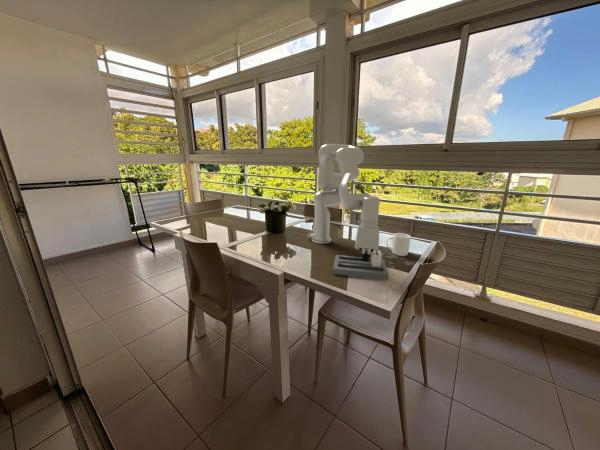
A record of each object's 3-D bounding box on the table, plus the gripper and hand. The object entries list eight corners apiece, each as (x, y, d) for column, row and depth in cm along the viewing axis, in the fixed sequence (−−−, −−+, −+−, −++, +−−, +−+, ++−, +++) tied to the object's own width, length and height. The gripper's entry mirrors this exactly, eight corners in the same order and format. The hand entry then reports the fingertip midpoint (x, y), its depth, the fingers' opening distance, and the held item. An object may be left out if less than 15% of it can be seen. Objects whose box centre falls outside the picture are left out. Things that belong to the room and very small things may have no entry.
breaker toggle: (371, 266, 111) (372, 254, 109) (370, 261, 116) (371, 249, 115) (380, 267, 110) (382, 255, 108) (379, 262, 116) (380, 250, 114)
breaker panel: (332, 274, 110) (333, 266, 109) (335, 259, 125) (335, 252, 124) (387, 280, 106) (388, 271, 104) (383, 264, 121) (384, 257, 119)
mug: (386, 248, 142) (388, 231, 139) (408, 252, 137) (410, 234, 134) (384, 253, 134) (386, 235, 131) (407, 257, 129) (410, 238, 126)
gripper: (351, 224, 107) (348, 262, 112) (387, 227, 104) (382, 265, 109) (352, 220, 114) (349, 256, 119) (385, 222, 111) (380, 259, 116)
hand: (365, 260), depth 114 cm, fingers closed
